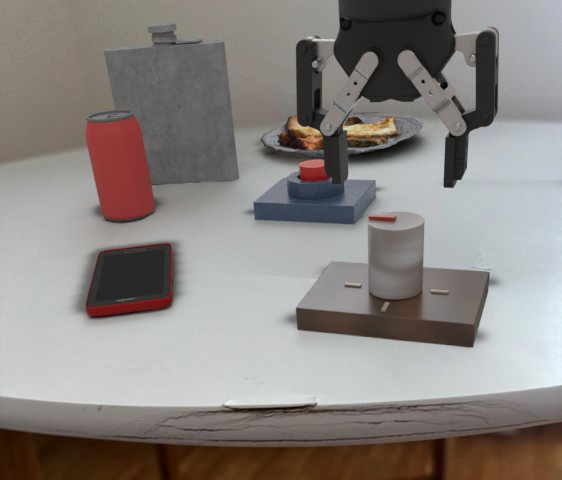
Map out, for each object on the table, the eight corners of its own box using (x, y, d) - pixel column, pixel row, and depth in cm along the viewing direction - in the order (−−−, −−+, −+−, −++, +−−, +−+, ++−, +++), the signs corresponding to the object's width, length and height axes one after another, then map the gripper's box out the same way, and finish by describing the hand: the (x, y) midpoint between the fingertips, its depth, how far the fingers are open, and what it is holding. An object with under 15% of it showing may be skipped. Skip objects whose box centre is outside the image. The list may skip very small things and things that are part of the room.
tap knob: (428, 280, 58) (430, 209, 55) (414, 302, 55) (416, 228, 51) (377, 275, 60) (377, 206, 56) (361, 296, 56) (360, 224, 53)
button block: (376, 197, 85) (375, 164, 83) (354, 225, 77) (353, 189, 75) (284, 194, 89) (281, 163, 87) (254, 220, 81) (251, 186, 79)
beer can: (138, 224, 83) (118, 120, 77) (92, 222, 85) (69, 120, 79) (165, 207, 88) (148, 108, 82) (121, 205, 90) (102, 108, 84)
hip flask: (126, 186, 98) (95, 29, 88) (135, 178, 101) (106, 26, 91) (236, 181, 96) (219, 20, 85) (241, 173, 99) (225, 17, 89)
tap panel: (488, 292, 60) (490, 269, 59) (473, 348, 52) (475, 322, 51) (332, 280, 64) (331, 259, 63) (296, 330, 57) (295, 306, 55)
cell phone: (173, 250, 74) (171, 241, 74) (173, 308, 62) (171, 298, 61) (100, 259, 74) (98, 250, 73) (85, 319, 61) (83, 309, 61)
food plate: (242, 164, 104) (239, 140, 102) (286, 129, 122) (285, 108, 120) (410, 164, 96) (411, 138, 95) (430, 126, 115) (431, 104, 113)
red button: (334, 174, 82) (333, 159, 81) (325, 183, 79) (324, 167, 78) (305, 173, 83) (304, 159, 82) (295, 182, 80) (294, 167, 79)
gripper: (270, -55, 44) (290, 196, 53) (503, -78, 39) (483, 202, 48) (308, -59, 50) (321, 167, 58) (515, -79, 45) (496, 171, 54)
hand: (394, 183), depth 53 cm, fingers open, 8 cm apart
